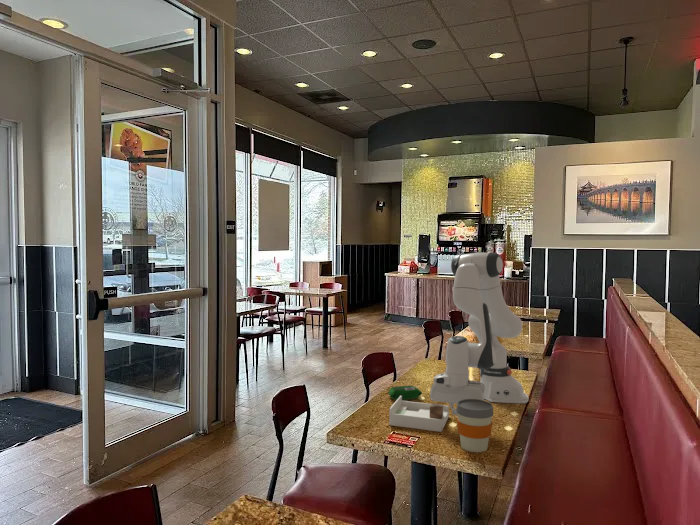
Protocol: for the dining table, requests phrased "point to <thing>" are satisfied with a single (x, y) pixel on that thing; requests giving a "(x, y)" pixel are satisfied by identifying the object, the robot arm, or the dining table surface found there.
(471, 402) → the reusable coffee cup
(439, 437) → the dining table surface
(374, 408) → the dining table surface
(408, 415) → the box
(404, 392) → the snack package
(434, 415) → the walnut cube
